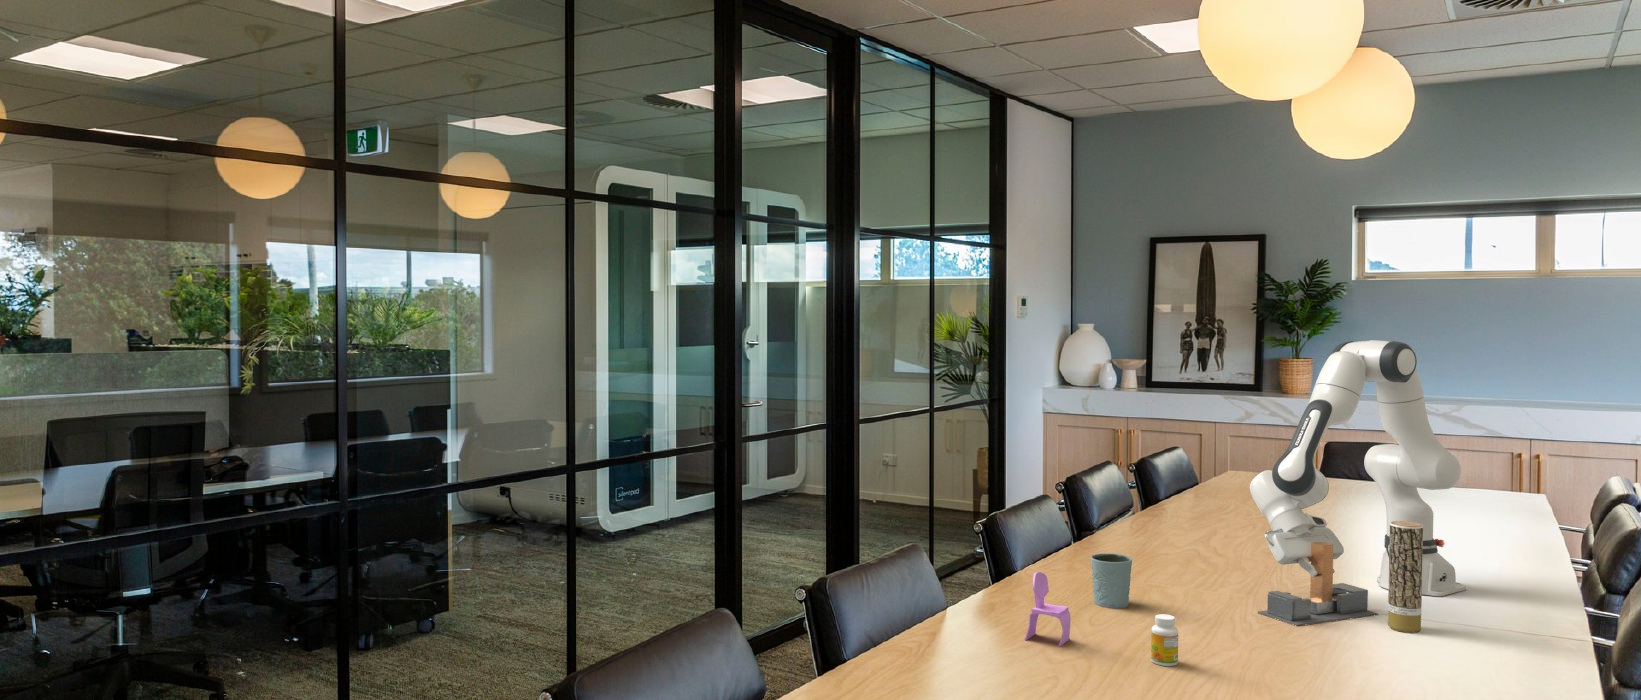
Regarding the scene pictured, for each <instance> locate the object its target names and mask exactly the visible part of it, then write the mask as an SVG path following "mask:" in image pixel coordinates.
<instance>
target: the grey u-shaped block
mask: <svg viewBox="0 0 1641 700" xmlns="http://www.w3.org/2000/svg"><path fill="white" fill-rule="evenodd" d="M1335 595H1337V614H1340V615H1345V614H1352V613H1359V612H1367V611H1368V609H1369V608H1368V607H1369V606H1368V604H1369V589H1367V588H1362V587H1359V586H1355V585H1352V584H1347V583H1344V582H1340V583H1333V593H1332V596H1335Z"/></svg>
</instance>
